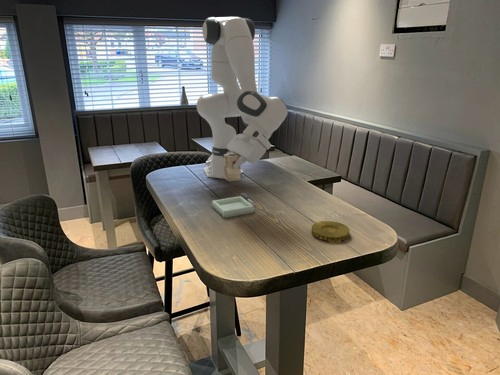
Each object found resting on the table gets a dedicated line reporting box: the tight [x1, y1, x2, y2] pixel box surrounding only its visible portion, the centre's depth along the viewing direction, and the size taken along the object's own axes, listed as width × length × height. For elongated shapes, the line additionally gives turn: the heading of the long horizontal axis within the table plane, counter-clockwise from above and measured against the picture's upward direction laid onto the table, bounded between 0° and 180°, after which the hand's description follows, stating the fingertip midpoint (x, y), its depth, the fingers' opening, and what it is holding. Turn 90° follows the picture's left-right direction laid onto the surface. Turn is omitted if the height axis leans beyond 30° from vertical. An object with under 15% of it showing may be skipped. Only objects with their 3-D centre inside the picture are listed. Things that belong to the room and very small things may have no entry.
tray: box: [211, 195, 255, 219], centre depth 141 cm, size 12×12×2 cm
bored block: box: [223, 153, 242, 182], centre depth 136 cm, size 5×4×9 cm
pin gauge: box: [240, 192, 257, 206], centre depth 149 cm, size 11×2×2 cm, turn 26°
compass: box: [310, 220, 351, 243], centre depth 121 cm, size 12×12×2 cm
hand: (230, 165), depth 135 cm, fingers closed on bored block, 5 cm apart
